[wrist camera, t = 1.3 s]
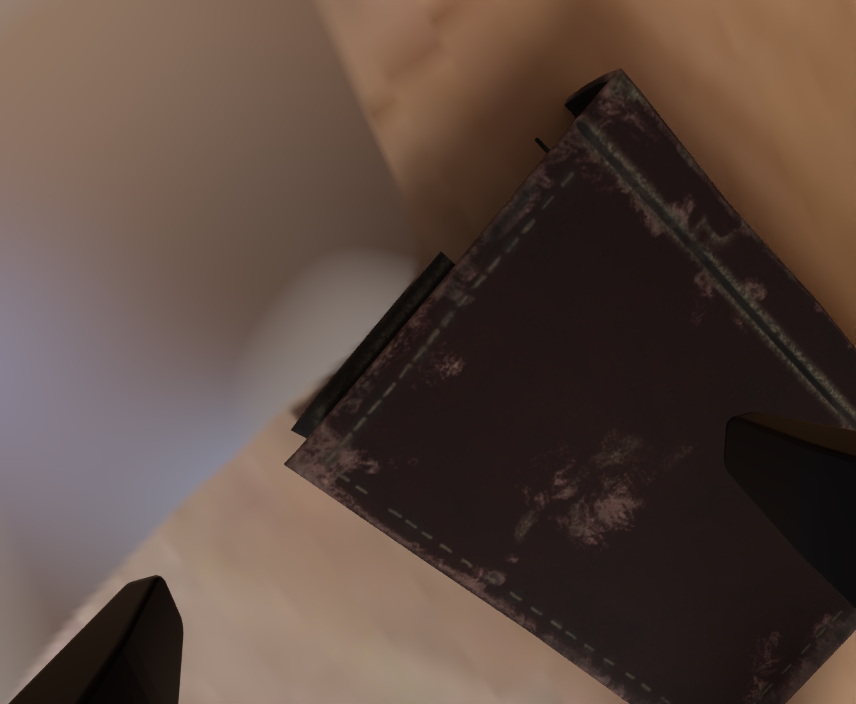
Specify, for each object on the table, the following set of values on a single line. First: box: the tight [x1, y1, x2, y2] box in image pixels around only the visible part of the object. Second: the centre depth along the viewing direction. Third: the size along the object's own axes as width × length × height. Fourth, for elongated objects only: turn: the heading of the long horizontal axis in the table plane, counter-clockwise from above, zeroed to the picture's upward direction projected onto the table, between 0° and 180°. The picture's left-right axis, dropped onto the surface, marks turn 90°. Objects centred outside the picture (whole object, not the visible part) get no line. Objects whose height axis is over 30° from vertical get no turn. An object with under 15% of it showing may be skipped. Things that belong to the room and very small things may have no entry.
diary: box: [284, 69, 856, 704], centre depth 23 cm, size 19×25×5 cm
